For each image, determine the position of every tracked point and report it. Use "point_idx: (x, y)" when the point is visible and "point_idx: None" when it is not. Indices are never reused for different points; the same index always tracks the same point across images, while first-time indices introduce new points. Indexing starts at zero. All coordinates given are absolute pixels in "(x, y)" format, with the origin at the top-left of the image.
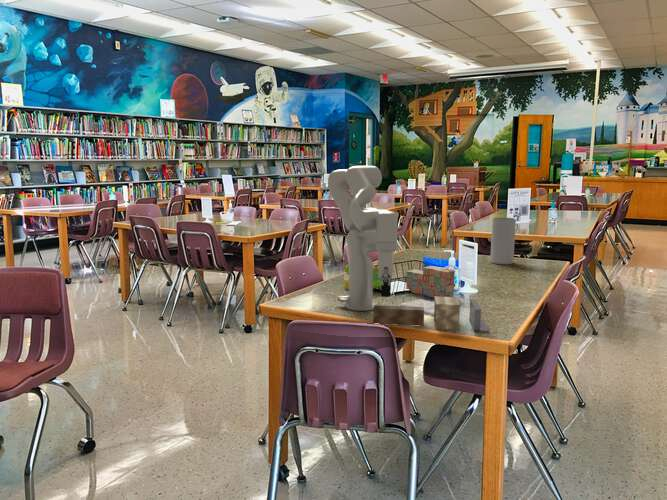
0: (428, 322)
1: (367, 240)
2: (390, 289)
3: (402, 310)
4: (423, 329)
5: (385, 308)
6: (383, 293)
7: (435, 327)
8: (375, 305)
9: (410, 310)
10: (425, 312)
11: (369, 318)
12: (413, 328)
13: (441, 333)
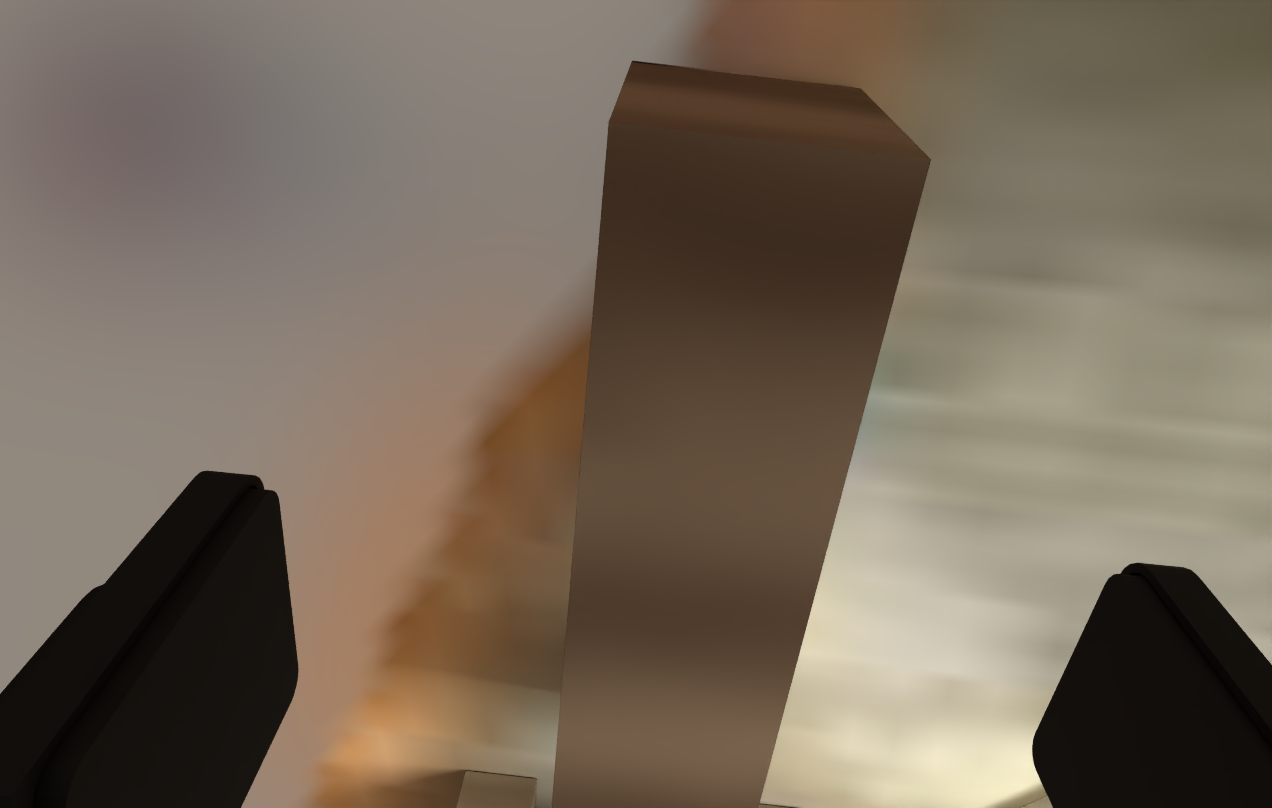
0: None
1: None
2: (1061, 789)
3: (566, 637)
4: (434, 672)
5: (618, 389)
6: (87, 596)
7: (496, 780)
8: (900, 194)
9: (558, 736)
10: None
11: (1003, 11)
12: (458, 587)
13: (322, 786)
